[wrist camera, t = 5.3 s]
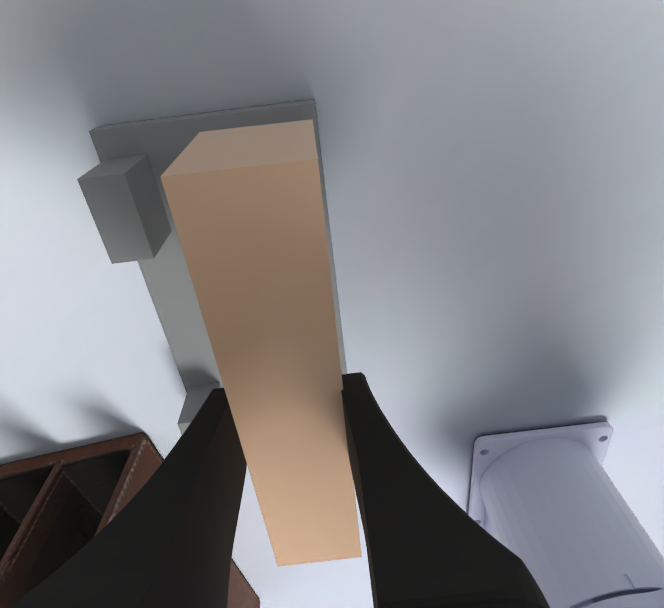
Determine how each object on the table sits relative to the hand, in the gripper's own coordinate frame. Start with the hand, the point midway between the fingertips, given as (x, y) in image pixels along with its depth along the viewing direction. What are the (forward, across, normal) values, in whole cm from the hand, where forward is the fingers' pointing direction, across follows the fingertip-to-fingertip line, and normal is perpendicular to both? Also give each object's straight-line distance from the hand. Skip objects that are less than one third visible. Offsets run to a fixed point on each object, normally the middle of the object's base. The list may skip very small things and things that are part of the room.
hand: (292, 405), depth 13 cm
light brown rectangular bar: (+3, 0, 0) cm, 3 cm away
